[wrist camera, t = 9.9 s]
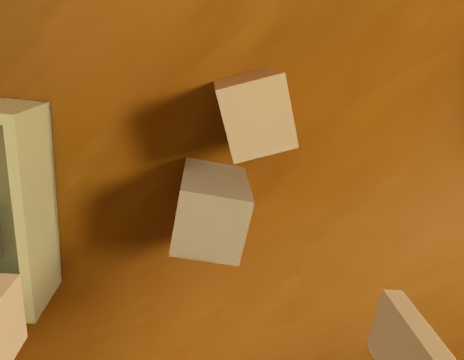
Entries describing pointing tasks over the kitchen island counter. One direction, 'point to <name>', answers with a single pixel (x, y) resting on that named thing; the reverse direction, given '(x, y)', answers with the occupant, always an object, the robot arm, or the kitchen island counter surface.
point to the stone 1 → (1, 243)
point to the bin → (29, 202)
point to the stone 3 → (256, 114)
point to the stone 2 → (212, 213)
